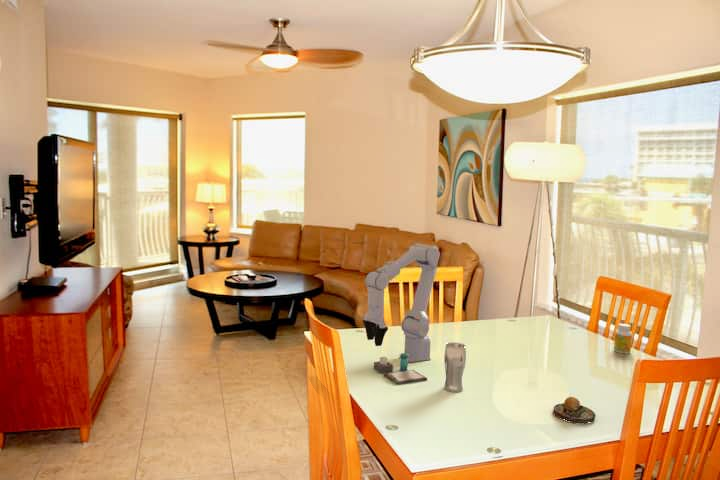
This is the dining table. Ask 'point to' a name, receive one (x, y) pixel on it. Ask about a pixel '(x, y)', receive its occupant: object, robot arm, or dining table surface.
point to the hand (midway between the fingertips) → (374, 342)
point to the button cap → (383, 361)
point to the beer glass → (454, 366)
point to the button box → (383, 367)
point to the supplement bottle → (623, 339)
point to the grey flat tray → (405, 377)
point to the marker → (404, 362)
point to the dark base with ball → (574, 411)
